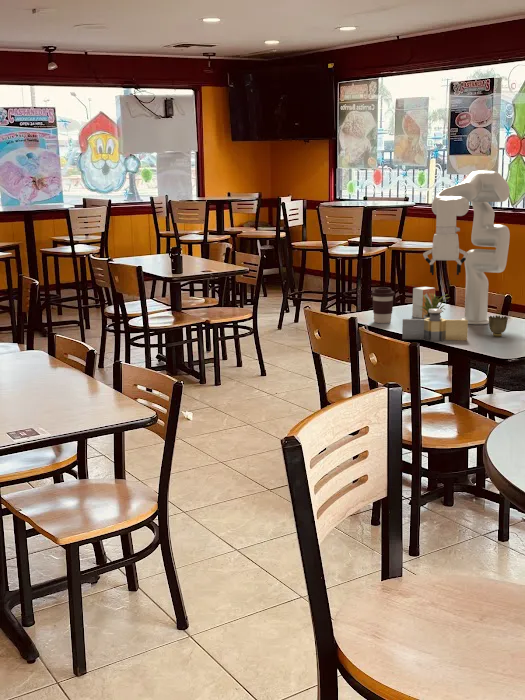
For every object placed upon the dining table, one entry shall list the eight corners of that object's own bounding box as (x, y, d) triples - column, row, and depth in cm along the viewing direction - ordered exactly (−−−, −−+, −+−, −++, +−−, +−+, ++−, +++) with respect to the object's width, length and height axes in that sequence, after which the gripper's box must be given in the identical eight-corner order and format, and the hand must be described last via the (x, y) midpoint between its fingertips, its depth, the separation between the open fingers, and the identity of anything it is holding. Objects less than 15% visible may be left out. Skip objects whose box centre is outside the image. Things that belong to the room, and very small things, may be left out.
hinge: (402, 336, 349) (402, 317, 347) (466, 338, 345) (467, 318, 343) (402, 341, 341) (402, 321, 339) (467, 342, 337) (468, 322, 336)
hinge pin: (427, 338, 346) (428, 308, 343) (440, 338, 345) (441, 308, 343) (427, 340, 341) (428, 310, 338) (441, 341, 340) (442, 310, 338)
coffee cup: (369, 323, 377) (369, 289, 374) (373, 319, 386) (373, 286, 383) (392, 324, 374) (392, 290, 371) (395, 320, 383) (396, 286, 380)
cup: (507, 338, 343) (508, 318, 341) (488, 338, 344) (489, 318, 342) (506, 334, 350) (507, 315, 348) (487, 334, 351) (488, 315, 350)
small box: (422, 318, 387) (422, 289, 384) (411, 316, 392) (412, 288, 389) (434, 316, 392) (435, 287, 389) (424, 314, 397) (425, 286, 394)
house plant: (457, 329, 362) (459, 290, 358) (445, 335, 351) (446, 295, 347) (425, 326, 370) (426, 288, 366) (412, 331, 358) (413, 292, 355)
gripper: (468, 229, 338) (467, 273, 342) (423, 230, 341) (422, 273, 345) (469, 231, 330) (468, 276, 335) (423, 232, 333) (422, 276, 338)
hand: (445, 274), depth 340 cm, fingers open, 9 cm apart
